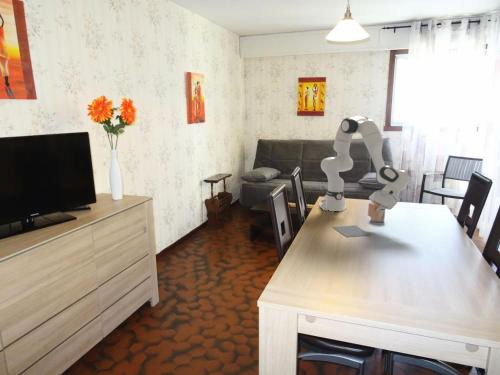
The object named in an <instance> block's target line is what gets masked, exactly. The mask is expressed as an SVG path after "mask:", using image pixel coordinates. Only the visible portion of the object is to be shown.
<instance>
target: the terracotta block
mask: <svg viewBox="0 0 500 375" xmlns="http://www.w3.org/2000/svg"><path fill="white" fill-rule="evenodd" d="M378 207H380V204H378V203H371V202H369V203H368V207H367V208H368V210H367V216H368V217H369V218H371V217H372V218H377V217H379V212H380V210H379V211H378V212H377V211H375V209H376V208H378Z"/></svg>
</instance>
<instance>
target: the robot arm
mask: <svg viewBox="0 0 500 375" xmlns="http://www.w3.org/2000/svg"><path fill="white" fill-rule="evenodd" d="M354 134H356V135H358V134H360V135H361V137H362V141H363V143H364V145H365V147H366V149H367V151H368V153H369V154H370V157H371V160H372V162H373V163H372V164H373V167H374V169H375V180H376V183H377V184H378V185H380V186H383V188H382V189H378V190H376V191H374V192H373V193H372V194H371V195H369V197H368V200H369V201H370V203H378V204H380V207H378V208H376V209H375V211H377V212H378V211H379V210H381V209H383V208H386V209H387V210H388V211H390V210H392V209H393V208H394V207H395V206H396V205H397V204H398V203H399V202H400V201H401V198H400V197H399V194H400V193H401V192H402V191H403V190H404V189H405V188H406V187H407V186H408V185H409V184H410V181H411V176H410V174H409V173H408V172H407V171H405V170H403V169H397V168H394V167H393V166H391V165H385V164H386V163H385V161H384V158H383V154H382V153H383V152H382V151H383V147H384V140H383V137H382V133H381V130H380V129H379V127H378V125H377V123H376V122H375V121H374V120H372V119H370V117H367V116H352V117H349V116H348V117H346V118H343V119H342V121H341V122H340V125H339V126H338V128H337V131H336V133H335V138H334V141H333V142H334V143H333V146H332V147H333V150H334V151H335V152H336V156H329V157H326V158H323V159H322V160H321V162H320V169H321V170H322V172H324V173H325V175H326V176H327V189H326V194H325V195H324V196H323V197H322V199H321V200H320V202H321V203H320V202H319V203H318V206H319V208H322V209H323V211H328V210H329V211H328V212H334V211H339V212H344V211H345V210H347V207H346V198H345V197H344V196H345V191H344V185H345V180H344V179H343V178H342V177H340V174H339V173H340V172H348V171H350V170H352V169H353V167H354V161H353V158H352V157H351V156H350V155H351V154H350V147H351V143H352V139H353V137H354ZM322 209H321V210H322ZM386 209H385V210H386Z"/></svg>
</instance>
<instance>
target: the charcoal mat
mask: <svg viewBox="0 0 500 375" xmlns="http://www.w3.org/2000/svg"><path fill="white" fill-rule="evenodd" d="M332 229H334V230H335V231H336V232H338V233H340V234H341V235H342V236H344V237H345V238H351V237H352V238H353V237H355V238H356V237H367V236H372V234H370V233H369V232H367V231H365V230H364V229H362V228H361V227H359V226H358V225H342V226H341V225H340V226H332Z"/></svg>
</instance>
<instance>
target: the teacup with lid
mask: <svg viewBox="0 0 500 375" xmlns="http://www.w3.org/2000/svg"><path fill="white" fill-rule="evenodd" d="M385 216H386V208H383V209H381V210H380V212H379V217H377V218H372V217H370V221H372V222H375V223H376V222H378V223H381V222H382V223H383V222H384V221H385Z"/></svg>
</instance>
